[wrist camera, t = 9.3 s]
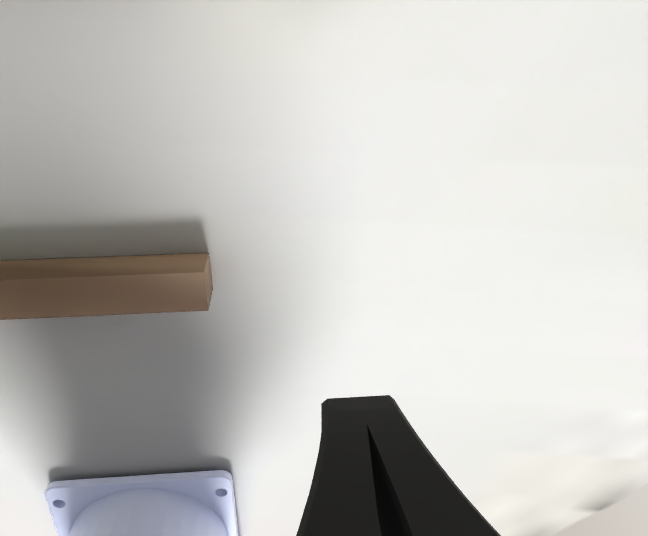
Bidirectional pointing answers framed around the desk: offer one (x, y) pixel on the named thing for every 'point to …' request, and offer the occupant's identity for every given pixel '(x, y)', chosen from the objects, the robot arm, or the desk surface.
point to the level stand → (104, 285)
